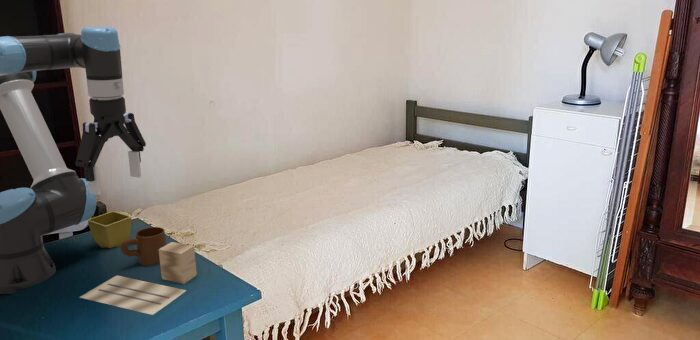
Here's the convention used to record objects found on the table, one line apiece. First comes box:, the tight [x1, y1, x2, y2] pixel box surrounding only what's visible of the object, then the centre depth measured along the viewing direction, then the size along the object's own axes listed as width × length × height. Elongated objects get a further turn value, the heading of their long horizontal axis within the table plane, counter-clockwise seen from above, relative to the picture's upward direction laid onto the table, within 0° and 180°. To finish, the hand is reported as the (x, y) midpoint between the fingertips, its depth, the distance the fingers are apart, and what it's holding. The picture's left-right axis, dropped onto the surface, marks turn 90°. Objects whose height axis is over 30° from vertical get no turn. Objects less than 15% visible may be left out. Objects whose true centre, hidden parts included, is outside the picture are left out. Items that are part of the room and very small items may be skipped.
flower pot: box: [87, 210, 132, 249], centre depth 160 cm, size 9×9×9 cm
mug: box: [120, 226, 168, 267], centre depth 147 cm, size 12×8×9 cm, turn 134°
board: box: [79, 275, 187, 316], centre depth 132 cm, size 22×12×1 cm, turn 69°
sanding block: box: [159, 241, 198, 285], centre depth 139 cm, size 7×5×9 cm
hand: (116, 184), depth 131 cm, fingers open, 13 cm apart
